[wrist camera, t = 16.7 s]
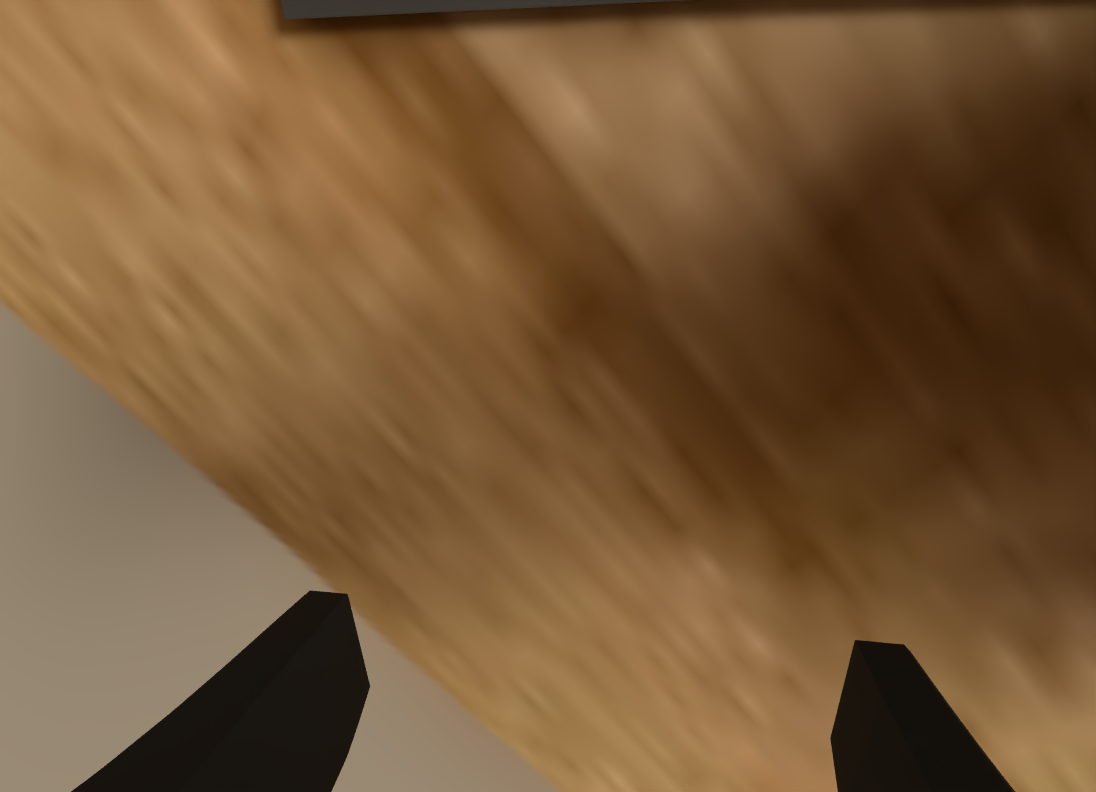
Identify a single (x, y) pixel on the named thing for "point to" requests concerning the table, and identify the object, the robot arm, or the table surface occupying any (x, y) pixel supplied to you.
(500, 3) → the base plate
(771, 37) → the table surface
